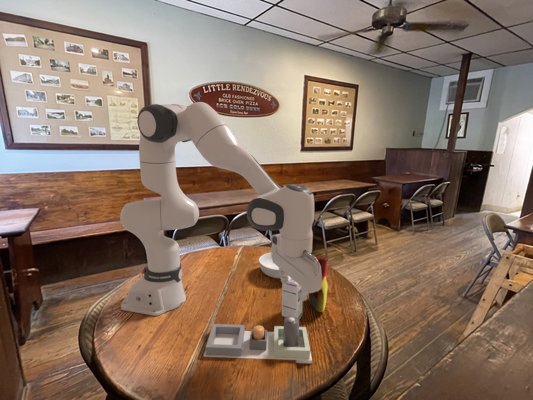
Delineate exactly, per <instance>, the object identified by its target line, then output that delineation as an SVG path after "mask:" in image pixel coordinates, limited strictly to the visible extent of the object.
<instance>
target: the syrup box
mask: <svg viewBox="0 0 533 400" xmlns="http://www.w3.org/2000/svg"><path fill="white" fill-rule="evenodd" d="M287 277H289V276H287ZM281 284H282V285H281V287H282V288H281V290H282V291H281V316H282V317H283V318H286V317H288V316H293V317H296V318H298V320H299V321H300V319H301V318H302V316H303V315H304V301H302V300H301V299H299V297H298V296H299V292H302V289H301V286H300V285H299V284H298V283H296V282H295V281H294V280H293V279H292V278H291V277H289V278H288V283H285V284H283V283H282V282H281Z"/></svg>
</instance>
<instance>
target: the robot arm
mask: <svg viewBox="0 0 533 400" xmlns="http://www.w3.org/2000/svg"><path fill="white" fill-rule="evenodd" d="M137 114H138V115H137V128H138V131H139V132H140V136H139V146H138V154H139V155H138V158H139V168H140V169H139V170H140V181H141V184H142V186H144V187H145V188H146V189H147V190H150V191H152V192H153V193H156V194H159V195H160V196H161V199H146V200H145V199H141V200H136V201H131V202H127V203H126V204H125V205H124V206H123V207H122V209H121V211H120V214H119V221H120V223H121V225H122V226H123V228H124V230H126V231H127V232H130V233H132V234H133V235H135V236H136V237H137V238H138V239H139V240H140V242H141V243H142V245H143V246H144V248H145V249H144V250H145V253H146V254H145V255H146V259H147V264H146V266H145V267H144V268H143V270H141V273H140V275H141V277H140V278H139V279H137V280H135V282H134V283H133V284H132V285H131V286H130V288H129V290H128V294H127V296H126V297H124V298H123V300H122V302H121V304H120V310H122V311H124V312H130V313H131V312H132V313H137V314H142V315H143V314H144V315H147V316H148V315H149V316H155V317H158V316H161V315H163V314H164V313H166V312H169V311H171V310H175V309H177V308H179V307H180V306H181V304H182V303H185V302H186V299H187V295H186V293H185V290H184V286H183V281H182V278H183V267H182V263H181V255H180V254H181V253H180V251H181V250H180V245H179V244H178V243H179V242H177V241H176V240H175V239H173V238H170V237H169V236H165V235H164V234H162V231H172V230H173V231H174V230H183V229H187V228H190V227H193V226H195V225H196V224H197V222H198V220H199V217H200V209H199V207H198V205H197V203H196V202H195V201H194V200H193V199H191V198H189V197H188V196H187V195H185V193H184V192H183V190H182V188H180V185H179V182H178V176H177V167H176V165H177V164H176V154H175V153H176V151H175V149H176V146H177V144H178V143H181V142H182V143H187V142H190V141H191V142H192V143H193V145H194V146H195V148H196V150H197V151H198V152H199V154H200V155H201V156H202V157H203V159H205V160H206V161H207V162H208V163H209V164H210V165H211V166H212V167H214V168H218V169H222V170H227V171H230V172H233V173H236V174H238V175H240V176H241V177H243V178H244V179H245V180H246V181H247V182H248V184H250V186H251V187H252V188H253V189H254V191H255V192H256V193H257V194H258V196H257V197H255V198H253V199H252V200H251V201H249V203H248V204H247V206H246V217H247V220H248V222H249V224H250V225H251V226H252V227H253V228H254V229H256V230H258V231H263V232H264V231H265V232H266V231H267V232H269V231H271V232H272V231H273V232H274V231H279V233H276V234H272V235H271V236H270V241H271V251H270V252H271V257H272V261H273V263H274V264H275V265H277V266H278V267H279V272H280V275H281V279H280V282H281V284H282V283H283V284H285V283H288V278H289V277H291V278H292V279H293V280H294V281H295V282H296V283H298V284H299V285H300V286H301V289H302V292H299V296H298V297H299V299H301V300H302V301H303V302H304V301H306V300H307V299H308V295H309V293H313V292H317V291H319V290H320V289H321V286H322V274H321V266H320V264H319V262H318V261H317V258H316V257H317V256H315V255H313V254H312V251H313V237H314V234H313V233H314V232H313V229H312V228H313V224H314V222H315V221H314V220H315V196H314V193H313V191H312V190H311V189H310V188H308V187H307V186H304V185H301V184H296V183H295V184H294V183H289V184H285V185H284V186H283V187H282V186H281V185H279V184H278V183H276V181H275V180H274V179H273V178H272V177H271V176H270V175H269V173H268V172H267V171H266V169H264V167H263V166H262V165H261V164H260V162H259V161H258V160H257V159H256V158H255V157H254V155H252V154H251V153H250V151H248V149H247V148H246V147H245V146H244V145H243V144H242V142H241V141H240V139H239V138H238V137H237V136H236V134H235V133H234V132H233V130H232V129H231V127H230V126H229V125H228V124H227V123H226V121H225V120H224V119H223V117H222V116H221V115H220V114H219V113H218V112H217V111H216V110H215V109H214V108H213V107H211V105H209V103H206V102H203V101H197V102H193V103H191V104H190V105H184V104H183V105H182V104H177V103H175V104H174V103H172V104H157V103H155V104H154V103H153V104H148V105H145V106H144V107H141V109H140V110H139V112H138V113H137ZM287 275H288V276H289V277H287Z"/></svg>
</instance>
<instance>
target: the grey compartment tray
mask: <svg viewBox="0 0 533 400" xmlns="http://www.w3.org/2000/svg"><path fill="white" fill-rule="evenodd" d="M245 326H246V325H245V324H227V323H226V324H225V323H224V324H223V323H221V324H220V323H213V324H212V327H211V329H210V333H209V335H208V339H207V342H206V345H205V351H204V352H203V357H205V358H229V359H230V358H231V359H252V360H253V359H254V360H256V359H257V360H283V361H284V360H287V361H295V363H296V364H308V365H309V364H310V365H311V364H312V363H313V357H312V353H311V346H310V342H309V336H308V331H307V327H306V326H299V336H298V347H283V332H284V325H283V326H282V325H274V326H273V328H274V329H273V331H268V329H264V340H254V339H253V329H252V328H251V329H250V330H245Z"/></svg>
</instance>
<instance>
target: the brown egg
mask: <svg viewBox="0 0 533 400" xmlns="http://www.w3.org/2000/svg"><path fill="white" fill-rule="evenodd" d="M264 330H265V328H264V326H263V325H260V324H259V325H255V326H254V327H253V339H254V340H264Z"/></svg>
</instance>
